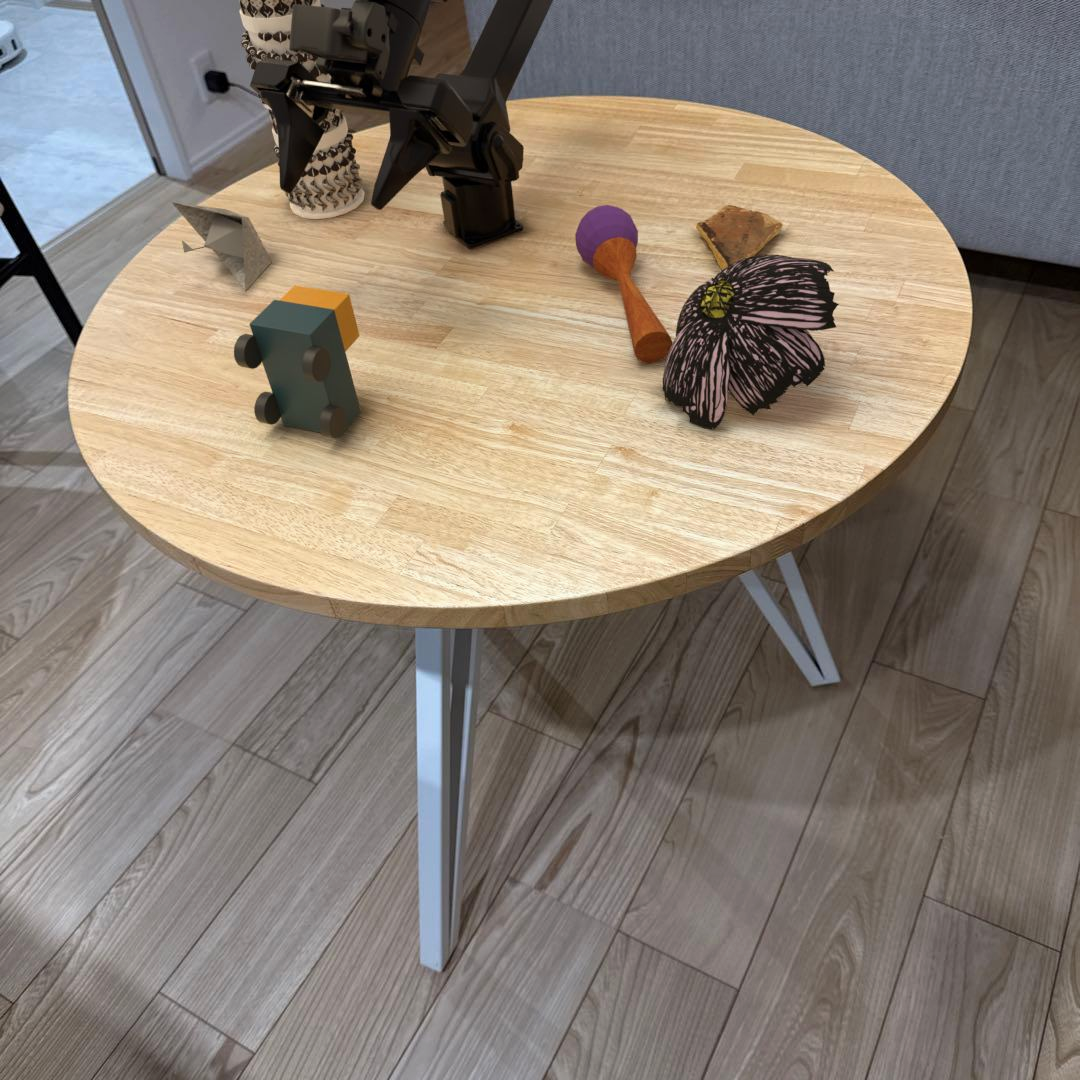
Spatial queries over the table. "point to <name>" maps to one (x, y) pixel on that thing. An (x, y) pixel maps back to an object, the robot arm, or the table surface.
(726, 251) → the shard
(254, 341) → the toy truck
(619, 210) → the purple and orange maraca
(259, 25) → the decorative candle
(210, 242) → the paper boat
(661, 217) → the table surface
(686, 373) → the decorative flower
